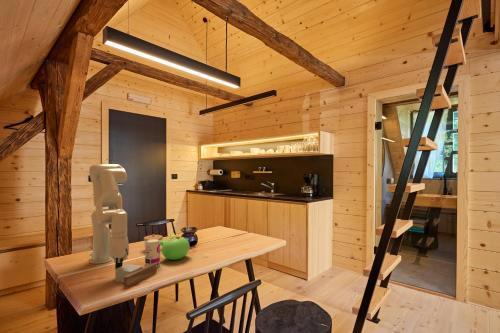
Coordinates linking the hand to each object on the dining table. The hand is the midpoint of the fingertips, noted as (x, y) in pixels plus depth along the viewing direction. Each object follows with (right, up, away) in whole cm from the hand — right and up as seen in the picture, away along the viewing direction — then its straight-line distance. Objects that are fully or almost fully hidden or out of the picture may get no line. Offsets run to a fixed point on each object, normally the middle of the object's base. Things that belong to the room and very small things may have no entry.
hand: (118, 269), depth 141 cm
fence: (+13, -4, -3) cm, 14 cm away
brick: (+6, -4, -2) cm, 8 cm away
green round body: (+22, -5, +29) cm, 37 cm away
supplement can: (+12, -4, +16) cm, 20 cm away
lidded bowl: (+1, -5, +46) cm, 47 cm away
